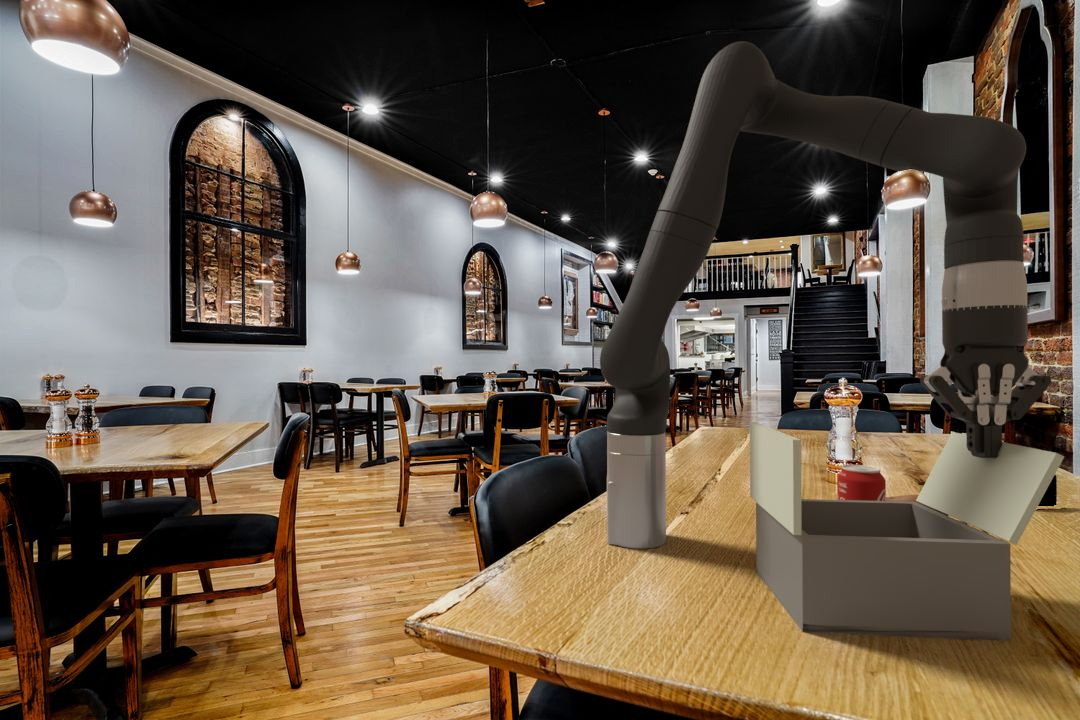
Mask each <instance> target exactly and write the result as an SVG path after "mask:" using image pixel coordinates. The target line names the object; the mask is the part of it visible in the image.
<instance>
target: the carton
mask: <svg viewBox="0 0 1080 720" xmlns="http://www.w3.org/2000/svg"><path fill="white" fill-rule="evenodd" d="M749 452H750V453H749V460H750V461H749V466H750V467H749V471H750V473H749V480H750V482H749V483H750V484H749V485H750V487H749V488H750V489H749V491H750V495H749V496H750V498H751V499H752V500H753V501H754V502H755V508H756V509H755V521H756V523H755V526H756V527H755V534H756V535H755V537H756V538H755V541H756V543H755V544H756V545H755V546H756V547H755V549H756V550H755V551H756V555H755V557H756V561H755V563H756V567H755V568H756V572H755V573H757V575H758V576H759V578H760V579H761V580H762V581H763V582H764V584H765V585H766V586H767V588H768V589H769V590H770V592H771V593H772V595H773V596H774V597H775V598H776V599H777V600H778V602H779V603H780V605H781V606H782V607H783V608H784V610H785V611H786V612H787V613H788V615H789V616H790V617H791V619H792V620H793V622H794V623H795V624H796V626H797V627H798V628H799V629H800V631H801V632H803V633H817V634H838V635H841V634H842V635H859V636H863V635H864V636H880V637H881V636H883V637H884V636H886V637H905V638H906V637H908V638H926V639H927V638H928V639H947V640H948V639H950V640H954V639H955V640H971V641H972V640H973V641H992V642H993V641H994V642H1011V641H1012V628H1011V627H1012V626H1011V625H1012V617H1011V616H1012V614H1011V613H1012V612H1011V611H1012V609H1011V608H1012V605H1011V604H1012V603H1011V602H1012V601H1011V600H1012V599H1011V598H1012V594H1011V589H1012V588H1011V585H1012V584H1011V583H1012V581H1011V577H1012V576H1011V543H1010V542H1008V541H1006V540H1004V539H1001V538H999V537H997V536H995V535H992V534H990V533H988V532H986V531H983V530H981V529H979V528H977V527H974V526H972V525H970V524H968V523H965V522H963V521H961V520H959V519H956V518H954V517H952V516H946V515H944V514H942V513H939V512H937V511H935V510H933V509H930V508H928V507H926V506H924V505H921V504H919V503H917V502H907V501H862V500H838V499H817V498H816V499H812V498H811V499H810V498H809V499H805V498H804V499H803V498H802V439H800V438H798V437H794V436H792V435H789V434H787V433H784V432H782V431H779V430H777V429H774V428H771V427H769V426H766V425H764V424H761V423H759V422H755V421H754V422H751V421H750V422H749ZM995 640H996V641H995Z"/></svg>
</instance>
